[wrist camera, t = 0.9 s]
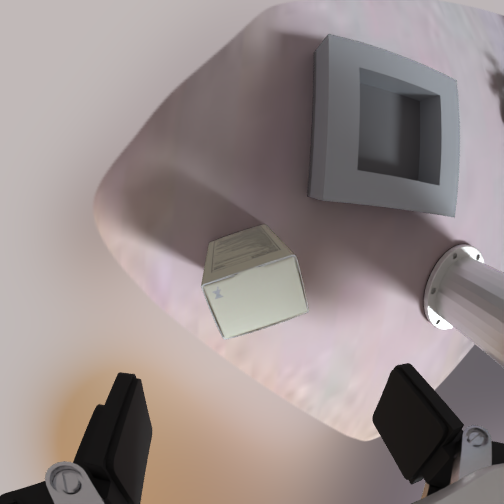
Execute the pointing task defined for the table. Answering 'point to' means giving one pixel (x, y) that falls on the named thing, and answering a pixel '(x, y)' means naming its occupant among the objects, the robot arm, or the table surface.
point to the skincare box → (252, 282)
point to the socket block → (383, 130)
